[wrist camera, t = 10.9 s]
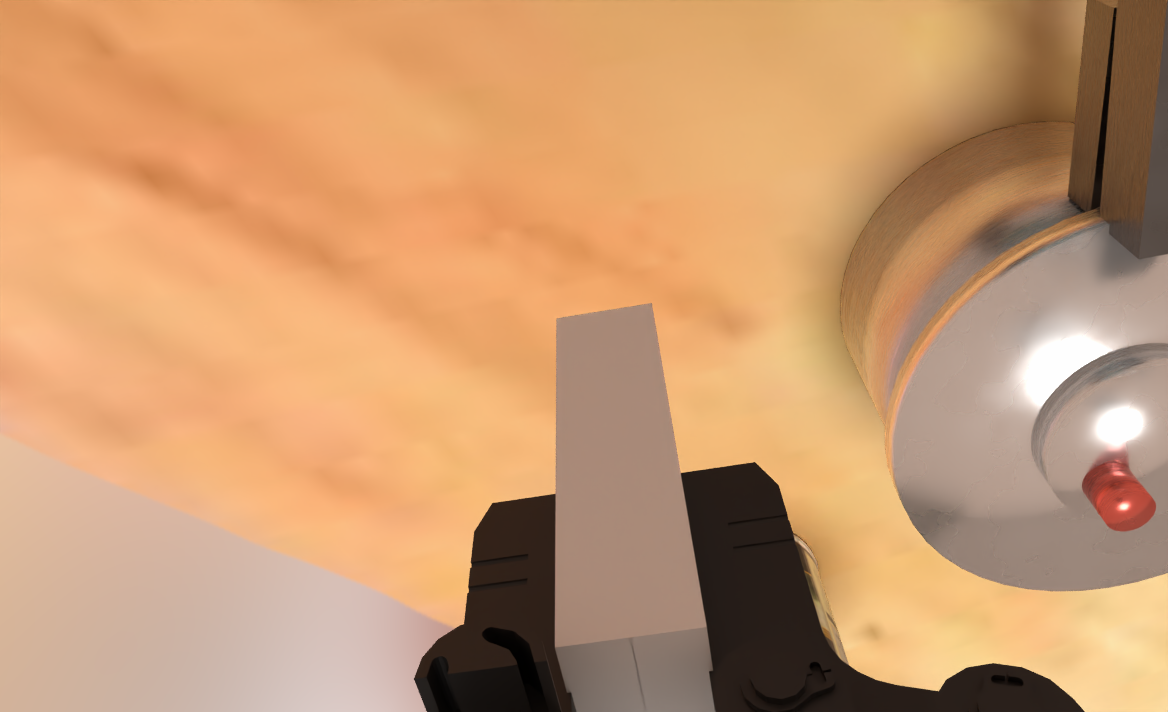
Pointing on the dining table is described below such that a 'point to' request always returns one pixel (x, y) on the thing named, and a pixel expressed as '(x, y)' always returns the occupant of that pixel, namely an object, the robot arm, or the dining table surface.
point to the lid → (1056, 373)
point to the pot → (972, 215)
